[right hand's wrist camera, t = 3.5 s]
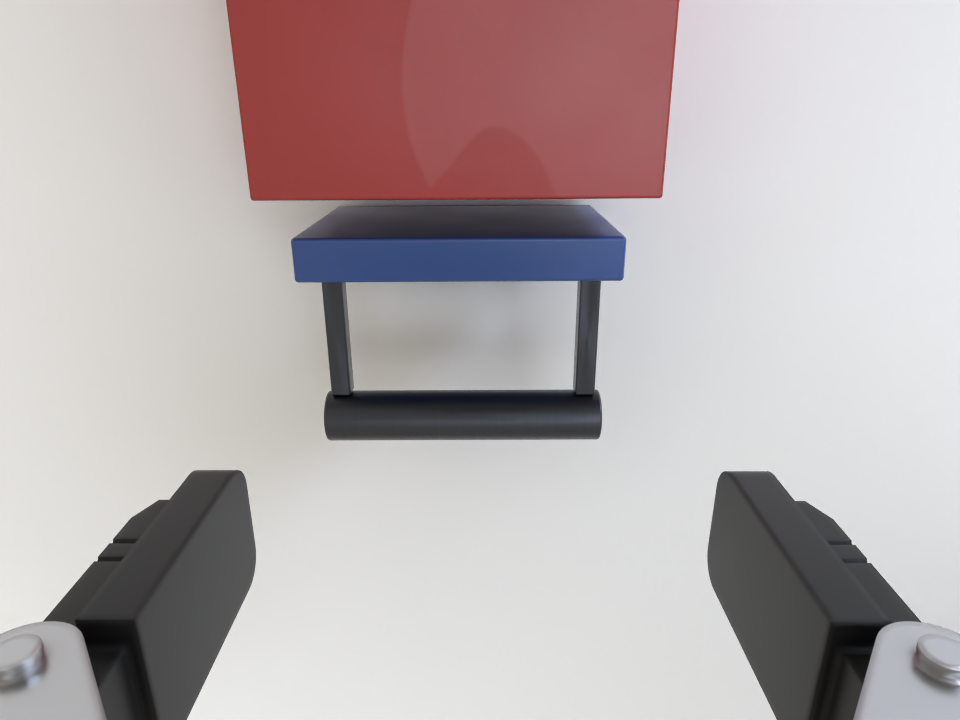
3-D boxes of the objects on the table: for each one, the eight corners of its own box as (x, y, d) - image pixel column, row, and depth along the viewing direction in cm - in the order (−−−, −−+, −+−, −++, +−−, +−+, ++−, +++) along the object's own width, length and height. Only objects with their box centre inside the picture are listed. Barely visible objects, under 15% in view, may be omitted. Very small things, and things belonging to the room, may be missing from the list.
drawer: (581, 383, 26) (611, 464, 20) (352, 384, 26) (313, 465, 20) (623, -436, 18) (693, -708, 12) (287, -432, 18) (190, -700, 12)
